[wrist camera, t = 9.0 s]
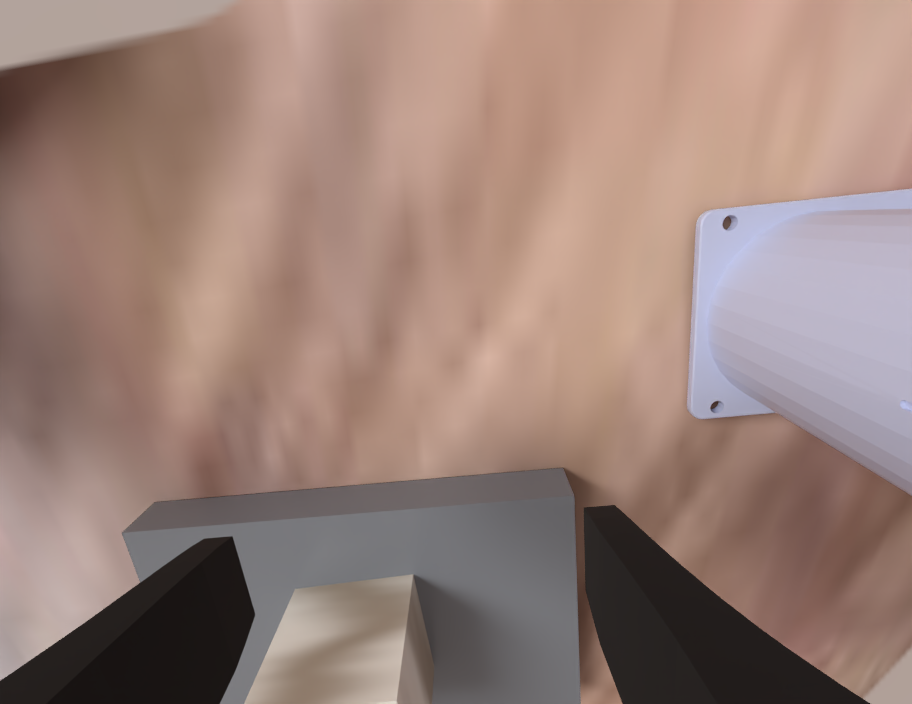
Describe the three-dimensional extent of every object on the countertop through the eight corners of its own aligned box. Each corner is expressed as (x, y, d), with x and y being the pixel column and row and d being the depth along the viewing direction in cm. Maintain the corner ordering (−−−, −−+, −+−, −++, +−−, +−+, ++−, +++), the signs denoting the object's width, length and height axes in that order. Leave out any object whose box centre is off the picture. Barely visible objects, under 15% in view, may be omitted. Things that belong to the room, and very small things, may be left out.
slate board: (562, 467, 19) (574, 495, 17) (570, 677, 22) (580, 719, 21) (154, 502, 20) (121, 533, 18) (222, 700, 23) (200, 744, 21)
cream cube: (413, 574, 18) (396, 700, 14) (434, 665, 20) (425, 809, 15) (295, 588, 19) (237, 717, 14) (324, 677, 20) (281, 822, 15)
